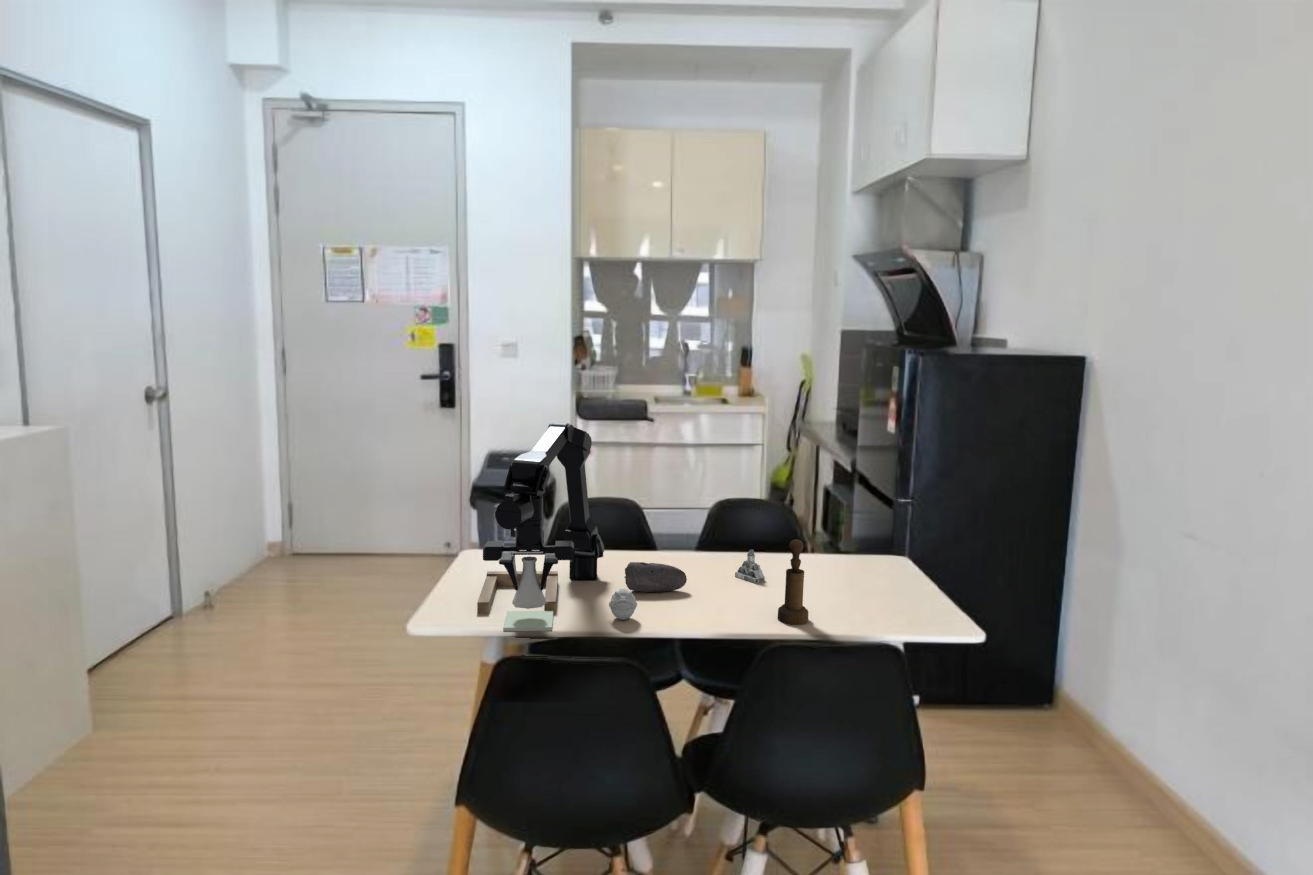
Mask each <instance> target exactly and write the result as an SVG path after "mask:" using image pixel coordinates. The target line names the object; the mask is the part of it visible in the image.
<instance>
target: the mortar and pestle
mask: <svg viewBox="0 0 1313 875" xmlns="http://www.w3.org/2000/svg"><path fill="white" fill-rule="evenodd" d="M788 547H789V548H788V549H789V550H790V552H791V556H792V558H791V559H790V560H789V561H790V566H791V568H787V569H786V570H785V586H784V587H785V589H784V604H782V605H781V606H780V607H778V609H777V620H778V621H779V622H781V623H783V624H786V625H793V626H795V625H796V626H798V625H799V626H800V625H805V624H807V623H808V622H809V610H808V608H806V607H805V606H804V604H803V601H804V585H805V584H804V583H805V582H804V580H805V570H804V569H800V567H801V564H802V559H800V556H801V553H802V552H803V550H804V543H803V542H802V540H800V539H792V540H791V541H789V545H788Z"/></svg>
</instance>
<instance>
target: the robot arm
mask: <svg viewBox="0 0 1313 875" xmlns="http://www.w3.org/2000/svg"><path fill="white" fill-rule="evenodd" d="M592 443H593V442H592V436H591V435H590V434H589V433H588V432H587V431H586V430H585V431H584V430H583V429H580V428H577V427H575V426H574V425H573V424H570V423H568V422H552V423H549V425H548V426H547V430H546V431H545V433H544V434H543V435H542V436H541V438H540V439H539V440H538V441H537V443H536V444H535V445H534V447H532V449H531V450H530V451H528V452H525V453H524V452H523V453H521V454H519V455H518V456H516V457H515V458H514V459H513V461H512V462H511V464H510V465H509V468H508V471H507V476H506V479H505V481H504V482H505V483H504V485H503V489H502V493H503V494H505V495H504V496H503V497H504V498H503V500H504V501H502V502H500V503H499V504H498V505H497V507H496V509H495V512H494V518H495V521H496V523H497V524H498V525H499V526H500V527H501V528H502V529H505V530H510V534H509V535H510V538H515V539H514V540H515V545H505V541H504V540H488V541H486V542H485V544H484V546H483V549H482V560H483V561H485V562H489V561H490V562H497V561H498V564H499V565H503V566H504V568H505V569H506V570H505V571H507V572H508V573H509V575H510V578H511V580H512V583H513V585H514V586H513V587H514V590H515V592H516V591H517V589H518V580H517V572H516V571H517V565H516V556H520V555H521V556H523V555H524V556H536V555H537V556H543V555H544V559H543V567H542V571H543V572H542V579H541V590H542V591H544V588H545V586H544V585H545V582H546V579H547V576H548V574H549V572H550V571H552V569H553V566H554V565H558V564H559V561H569V579H570V580H571V581H572V582H577V581H578V582H582V581H583V582H585V581H586V582H589V581H590V582H591V581H595V582H596V581H598V559H599V558H600V559H601V558H604V552H605V545H604V543H603V540H602V538H601V535H600V534H599V530H598V525H597V524H596V522H595V521H594V520H593V519H592V517H590V506H589V496H588V486H587V485H588V484H587V474H586V462H587V459H588V458H589V456H590V454H591V449H592ZM555 458H556V459H557V460H558V461H559V462H560V463H561V465H562V466H563V467H564V471H565V482H566V491H567V501H568V502H567V503H568V512H569V523H568V525H567V527H566V529H565V531H564V533H563V536H564V537H563V540H555V542H554V543H555V544H554V545H544V542H545V541H544V540H545V539H544V538H545V532H544V494H545V493H546V487H547V484H548V482H549V478H550V475H551V472H550V466H551V463H553V461H554V459H555Z"/></svg>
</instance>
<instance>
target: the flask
mask: <svg viewBox="0 0 1313 875" xmlns="http://www.w3.org/2000/svg"><path fill="white" fill-rule="evenodd" d="M537 559H538V558H537V557H536V556H523V557H522V558H521V562H522V576H521V579H520V582H519V585H518V589H517V591H516V590H515V593H514V596H513V599H512V602H511V603H512V605H513V606H514V607H515V608H517V609H527V610H529V609H537V608H542V607H544V605H545V604H546V600H545V593H544V592H543V590H541V586H540V583H539V580H538V577H537V573H536V571H537V568H536V564H537V561H538V560H537Z"/></svg>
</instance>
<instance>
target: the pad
mask: <svg viewBox="0 0 1313 875" xmlns="http://www.w3.org/2000/svg"><path fill="white" fill-rule="evenodd" d="M553 621H554V613H553V611H544V610H508V611H506V615H505V619H504V623H503V626H502V631H503V632H510V631H511V632H518V631H519V632H532V631H533V632H536V631H542V632H543V631H544V632H545V631H553V623H554V622H553Z"/></svg>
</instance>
